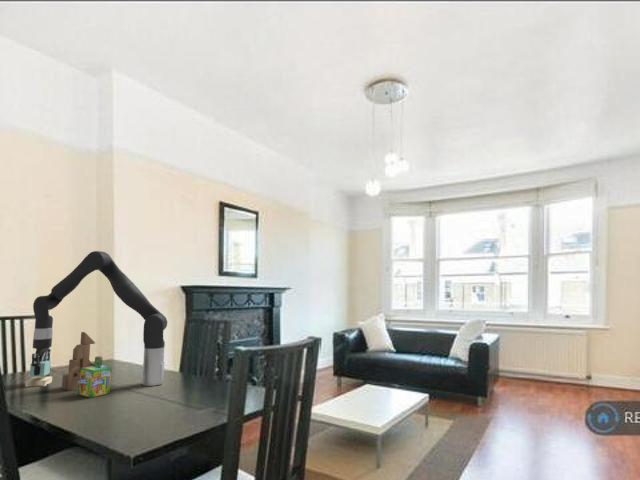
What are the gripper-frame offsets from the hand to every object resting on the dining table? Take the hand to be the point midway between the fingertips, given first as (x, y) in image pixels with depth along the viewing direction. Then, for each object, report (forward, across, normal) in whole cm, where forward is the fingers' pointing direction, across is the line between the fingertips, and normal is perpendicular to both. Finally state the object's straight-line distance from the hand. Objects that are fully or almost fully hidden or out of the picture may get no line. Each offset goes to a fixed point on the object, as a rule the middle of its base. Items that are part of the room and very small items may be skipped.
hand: (39, 373), depth 194 cm
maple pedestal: (+5, 0, 0) cm, 5 cm away
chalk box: (+5, -22, -31) cm, 38 cm away
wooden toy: (+5, -7, -21) cm, 23 cm away
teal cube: (+1, 0, 0) cm, 1 cm away
